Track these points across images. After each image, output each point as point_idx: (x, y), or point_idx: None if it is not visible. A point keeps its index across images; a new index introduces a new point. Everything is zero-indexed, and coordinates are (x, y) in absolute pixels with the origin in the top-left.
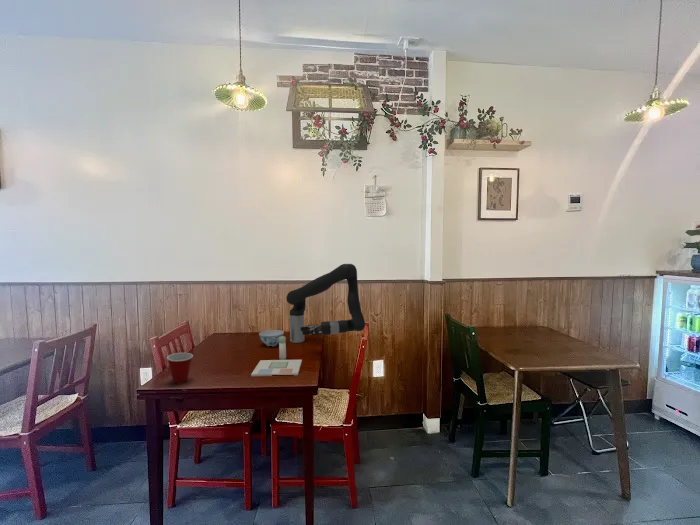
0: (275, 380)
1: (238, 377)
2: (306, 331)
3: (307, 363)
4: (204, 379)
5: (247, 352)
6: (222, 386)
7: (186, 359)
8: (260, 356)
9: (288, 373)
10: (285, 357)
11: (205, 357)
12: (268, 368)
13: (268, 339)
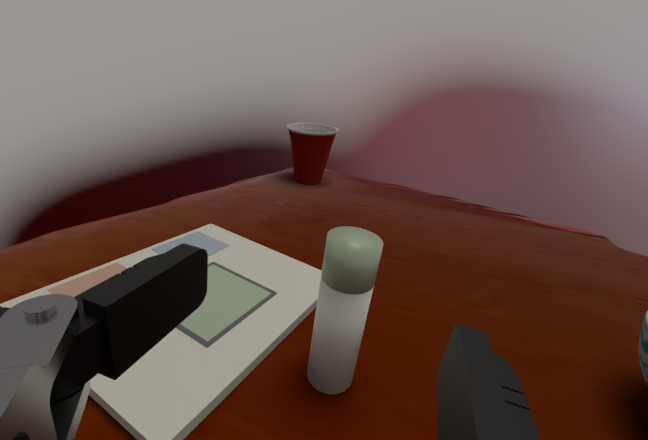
0: (90, 249)
1: (236, 217)
2: (122, 275)
3: None
4: (286, 192)
5: (511, 299)
6: (209, 193)
7: (287, 127)
8: (428, 312)
9: (62, 280)
10: (311, 374)
11: (466, 225)
12: (211, 262)
13: (640, 349)
